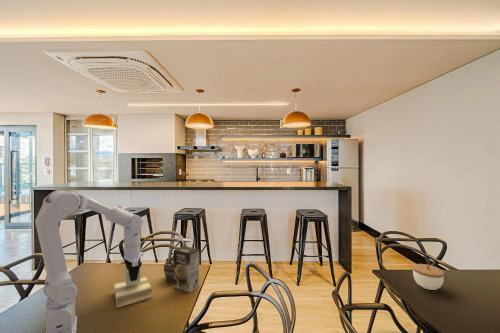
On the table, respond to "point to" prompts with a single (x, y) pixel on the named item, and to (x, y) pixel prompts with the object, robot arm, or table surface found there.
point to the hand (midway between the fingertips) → (132, 277)
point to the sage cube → (127, 278)
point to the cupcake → (169, 269)
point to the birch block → (132, 292)
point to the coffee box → (186, 268)
